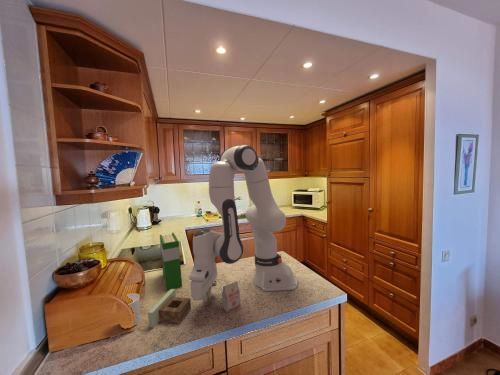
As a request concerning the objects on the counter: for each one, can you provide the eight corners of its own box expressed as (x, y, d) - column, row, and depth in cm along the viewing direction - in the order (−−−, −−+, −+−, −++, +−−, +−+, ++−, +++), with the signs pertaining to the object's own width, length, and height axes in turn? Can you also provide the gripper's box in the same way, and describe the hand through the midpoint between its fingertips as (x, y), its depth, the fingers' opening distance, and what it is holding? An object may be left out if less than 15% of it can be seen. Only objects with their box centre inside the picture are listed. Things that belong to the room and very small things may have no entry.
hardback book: (163, 276, 123) (159, 234, 121) (176, 272, 126) (173, 232, 124) (166, 291, 107) (162, 243, 105) (182, 286, 110) (178, 240, 108)
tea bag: (222, 307, 92) (221, 285, 91) (235, 301, 96) (234, 279, 95) (226, 311, 89) (225, 288, 88) (240, 305, 93) (239, 282, 92)
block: (191, 308, 92) (190, 298, 92) (180, 323, 84) (179, 312, 83) (171, 306, 94) (171, 296, 94) (159, 321, 85) (158, 310, 85)
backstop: (176, 301, 98) (175, 289, 97) (153, 327, 82) (152, 312, 81) (172, 301, 98) (170, 288, 97) (149, 327, 82) (147, 312, 82)
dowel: (211, 302, 96) (210, 285, 95) (209, 306, 93) (207, 288, 92) (205, 302, 96) (204, 284, 96) (203, 306, 94) (201, 288, 93)
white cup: (127, 316, 89) (125, 293, 88) (145, 316, 89) (143, 293, 88) (113, 330, 82) (111, 305, 81) (133, 331, 81) (131, 305, 80)
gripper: (207, 257, 104) (209, 284, 105) (187, 278, 84) (189, 312, 85) (219, 257, 103) (221, 285, 104) (202, 279, 83) (204, 313, 84)
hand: (206, 297), depth 94 cm, fingers closed on dowel, 3 cm apart
